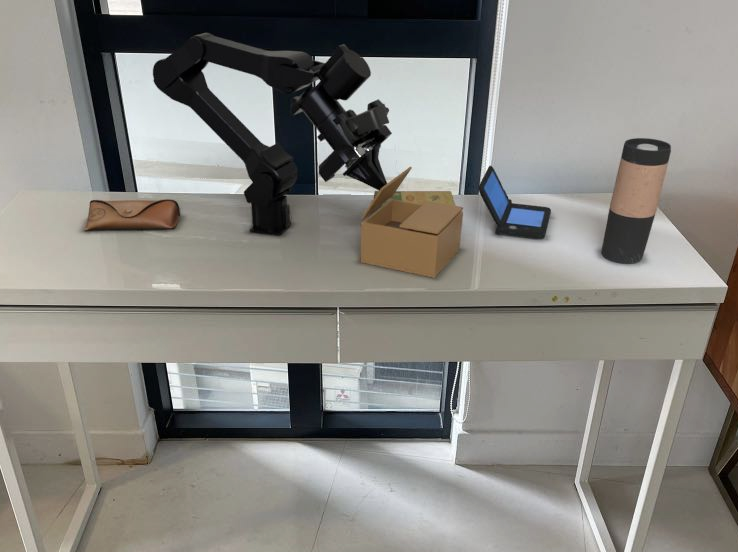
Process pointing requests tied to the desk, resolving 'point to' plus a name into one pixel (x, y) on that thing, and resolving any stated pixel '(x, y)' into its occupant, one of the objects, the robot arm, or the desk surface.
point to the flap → (386, 192)
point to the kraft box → (412, 236)
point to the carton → (421, 197)
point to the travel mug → (635, 199)
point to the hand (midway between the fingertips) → (386, 190)
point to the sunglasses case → (133, 215)
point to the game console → (512, 210)
